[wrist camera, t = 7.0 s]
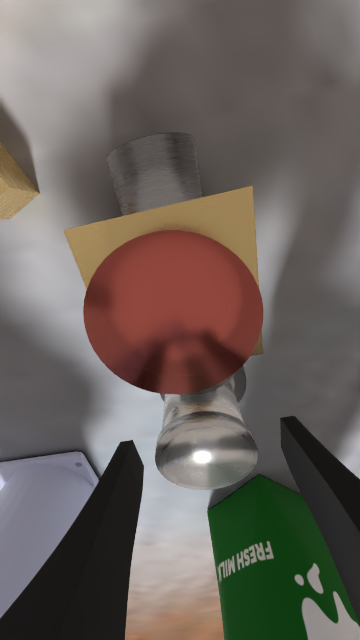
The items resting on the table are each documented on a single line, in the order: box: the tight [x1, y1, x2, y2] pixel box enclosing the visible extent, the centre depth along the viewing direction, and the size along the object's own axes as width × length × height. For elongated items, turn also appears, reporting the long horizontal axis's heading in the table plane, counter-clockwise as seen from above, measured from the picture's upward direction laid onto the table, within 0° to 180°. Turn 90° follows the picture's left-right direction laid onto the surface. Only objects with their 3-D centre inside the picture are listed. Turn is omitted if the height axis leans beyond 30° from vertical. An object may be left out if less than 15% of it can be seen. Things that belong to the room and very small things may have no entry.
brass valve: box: [64, 133, 263, 395], centre depth 8 cm, size 9×5×7 cm, turn 12°
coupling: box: [155, 377, 258, 490], centre depth 12 cm, size 4×4×5 cm
